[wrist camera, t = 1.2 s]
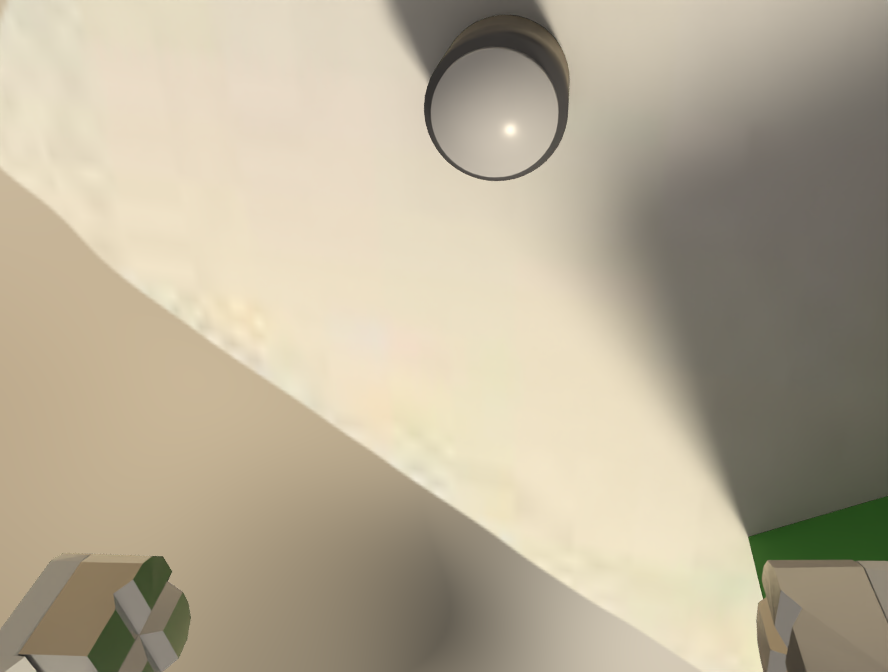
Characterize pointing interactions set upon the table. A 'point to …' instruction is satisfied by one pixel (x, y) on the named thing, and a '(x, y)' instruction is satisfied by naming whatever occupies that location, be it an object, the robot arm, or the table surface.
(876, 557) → the hardback book
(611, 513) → the table surface
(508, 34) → the cap
